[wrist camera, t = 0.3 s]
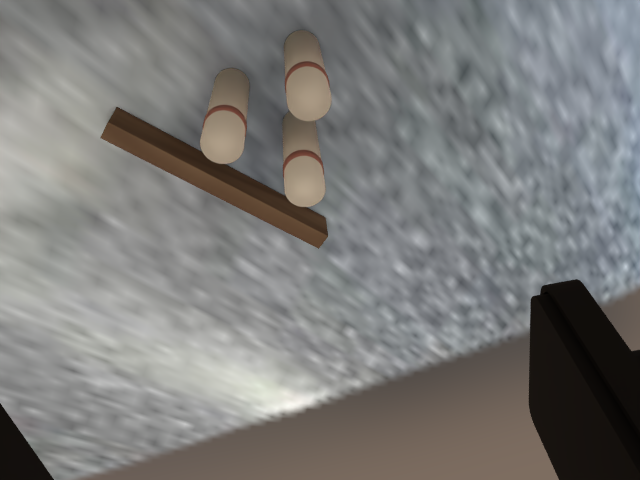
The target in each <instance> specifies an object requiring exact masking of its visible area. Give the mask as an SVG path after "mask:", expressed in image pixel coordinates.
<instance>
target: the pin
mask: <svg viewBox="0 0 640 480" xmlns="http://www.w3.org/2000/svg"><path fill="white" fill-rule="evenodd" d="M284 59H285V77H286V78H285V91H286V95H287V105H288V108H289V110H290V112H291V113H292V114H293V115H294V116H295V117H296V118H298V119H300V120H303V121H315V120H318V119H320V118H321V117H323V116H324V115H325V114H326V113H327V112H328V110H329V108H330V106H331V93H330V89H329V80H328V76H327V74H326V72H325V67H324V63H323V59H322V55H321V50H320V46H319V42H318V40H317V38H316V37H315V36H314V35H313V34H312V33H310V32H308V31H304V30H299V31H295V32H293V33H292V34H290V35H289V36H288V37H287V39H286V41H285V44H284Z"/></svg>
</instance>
